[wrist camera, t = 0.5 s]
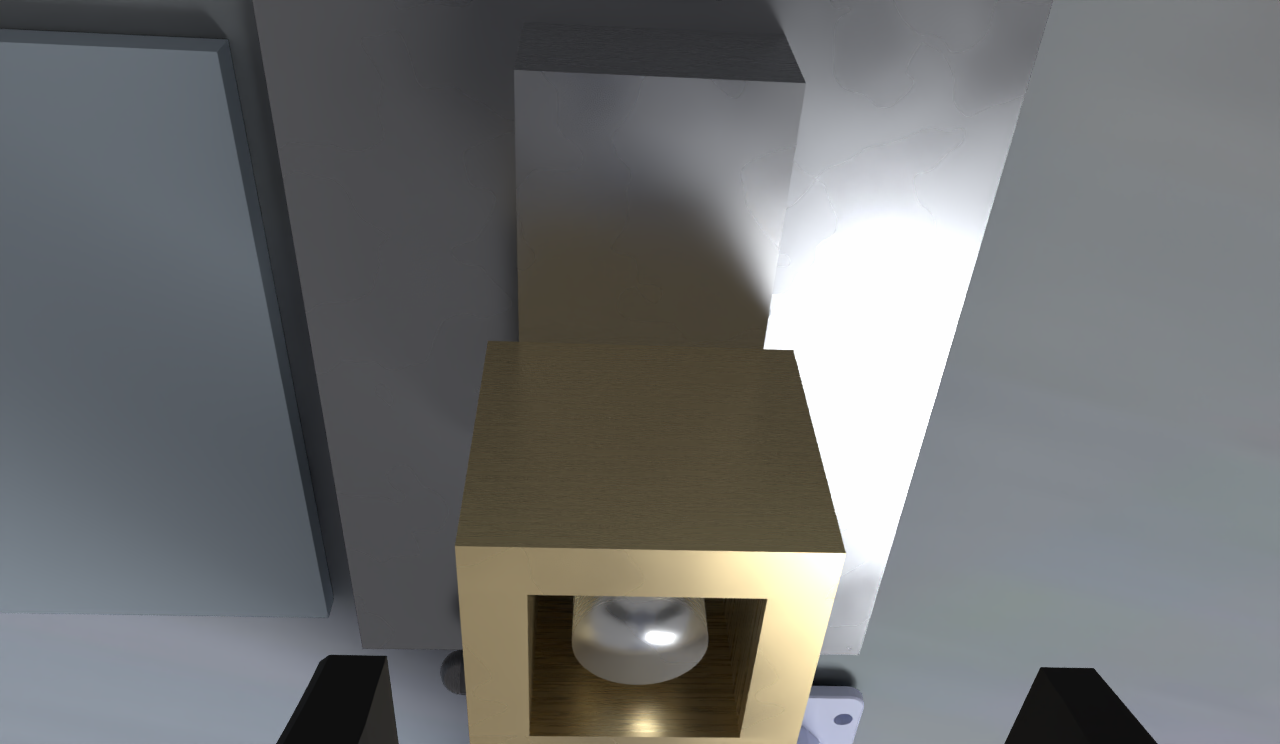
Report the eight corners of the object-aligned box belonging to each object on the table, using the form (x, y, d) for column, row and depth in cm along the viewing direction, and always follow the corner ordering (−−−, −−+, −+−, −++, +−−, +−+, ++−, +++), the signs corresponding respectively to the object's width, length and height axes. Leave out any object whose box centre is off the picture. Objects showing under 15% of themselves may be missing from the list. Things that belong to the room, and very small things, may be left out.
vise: (847, 606, 26) (920, 905, 20) (374, 599, 25) (302, 906, 19) (1025, -46, 16) (1271, 150, 10) (268, -87, 16) (59, 99, 10)
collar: (755, 558, 20) (790, 771, 16) (496, 554, 19) (472, 769, 16) (793, 350, 17) (846, 552, 13) (487, 340, 16) (454, 545, 13)
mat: (333, 598, 25) (328, 617, 25) (-83, 592, 25) (-97, 611, 24) (228, 39, 17) (217, 52, 16) (-408, 9, 16) (-438, 21, 16)
